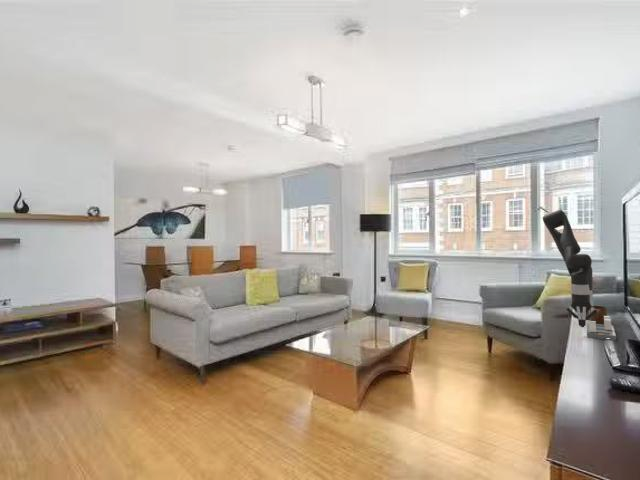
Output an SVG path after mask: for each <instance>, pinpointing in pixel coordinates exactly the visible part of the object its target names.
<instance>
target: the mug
mask: <svg viewBox="0 0 640 480" xmlns="http://www.w3.org/2000/svg"><path fill="white" fill-rule="evenodd" d="M592 307H593V308H594V309H596V310H597V312H596V313H595V314H594V315H593V316H592V317H591V318H590V319H589V321H596V324H602V325H604V316H608V311H607V307H606V306H601V305H593V306H592ZM590 313H591V309H590Z"/></svg>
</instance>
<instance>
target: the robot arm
mask: <svg viewBox="0 0 640 480" xmlns="http://www.w3.org/2000/svg"><path fill="white" fill-rule="evenodd" d="M542 221H543V224H544V226H545V227H546V228H547V230H548V232H549V234H550V235H551V238H552V240H553V241H554V243H555V246H556V249H558V252H559V253H560V256H561V257H562V259H563V261H564V263H565V266H566V269H567V271H568V274H569V276H570V282H571V285H570V293H571V294H570V295H571V304H570V306H567V307H566V311H567V312H568V313H569V314H570V315H571V316H572V317H573V318H574V319H577V320H578V326H580V328H584V327H587V324H586V322H587V321H586V320H590V318H591V317H592V316H593V315H594V314H595V313H596V312H597V310H596V309H594V308H593V307H592V306H594V297H593V296H594V294H593V293H594V292H593V284H594V283H593V267H592V263H593V262H592V258H591V256H590V255H589V254H586V253H580V252H581V250H582V249H581V247H580V246H581V245H580V244H579V243H578V241H577V238H575V235H574V232H573V228H572V226H571V224H570V221H569V219H568V216H567V214H566V212H565V211H564V210H562V209H558V210H555V211H552V212H549V213H546V214H545V215H543V216H542ZM560 227H563V229H562V232H561V231H558V230H557V228H560ZM590 309H591V313H590ZM573 310H574V311H573Z"/></svg>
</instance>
